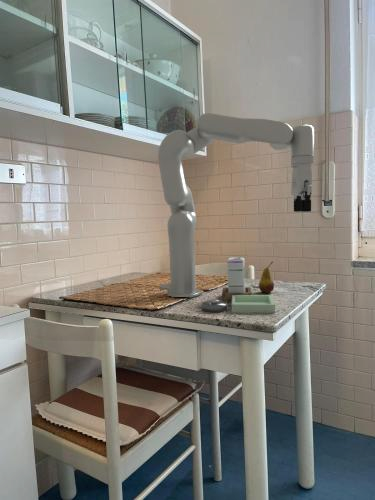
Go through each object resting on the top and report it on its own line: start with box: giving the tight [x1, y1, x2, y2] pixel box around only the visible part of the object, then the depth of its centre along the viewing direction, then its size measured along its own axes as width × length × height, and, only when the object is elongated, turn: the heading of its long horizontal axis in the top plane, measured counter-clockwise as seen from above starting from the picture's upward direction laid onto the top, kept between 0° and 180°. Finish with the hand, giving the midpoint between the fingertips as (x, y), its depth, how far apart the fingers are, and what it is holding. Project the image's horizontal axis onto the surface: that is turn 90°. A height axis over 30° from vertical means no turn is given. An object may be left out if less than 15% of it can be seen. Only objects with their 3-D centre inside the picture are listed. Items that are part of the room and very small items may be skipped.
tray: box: [231, 294, 276, 314], centre depth 122 cm, size 13×13×2 cm
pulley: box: [201, 298, 228, 314], centre depth 120 cm, size 8×8×3 cm
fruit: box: [258, 261, 275, 294], centre depth 142 cm, size 6×6×12 cm
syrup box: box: [226, 256, 246, 293], centre depth 134 cm, size 6×6×14 cm
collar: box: [221, 286, 253, 303], centre depth 134 cm, size 10×10×3 cm
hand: (302, 211), depth 134 cm, fingers open, 9 cm apart
